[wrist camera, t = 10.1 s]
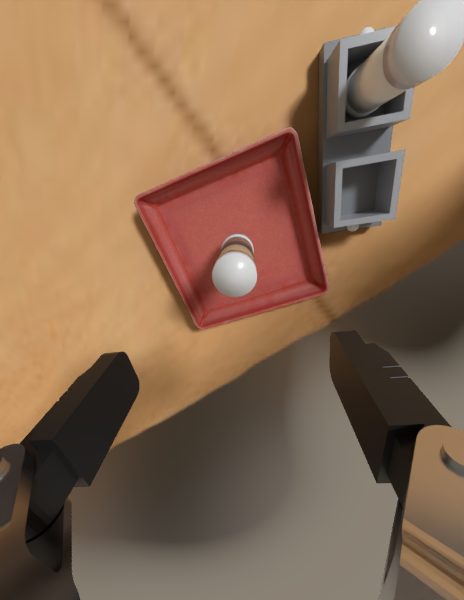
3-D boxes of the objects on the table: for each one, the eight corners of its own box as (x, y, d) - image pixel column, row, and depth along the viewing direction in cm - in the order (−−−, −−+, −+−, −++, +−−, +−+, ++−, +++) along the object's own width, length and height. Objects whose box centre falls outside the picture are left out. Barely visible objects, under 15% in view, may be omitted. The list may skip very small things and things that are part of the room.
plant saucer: (141, 196, 28) (129, 198, 25) (290, 130, 24) (296, 122, 21) (202, 319, 35) (198, 331, 32) (323, 282, 31) (331, 292, 28)
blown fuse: (251, 230, 25) (254, 251, 17) (255, 261, 27) (259, 294, 19) (219, 235, 26) (207, 258, 18) (225, 265, 27) (216, 299, 19)
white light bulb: (383, 63, 20) (477, -21, 12) (378, 114, 21) (458, 72, 13) (340, 73, 20) (401, -1, 12) (338, 123, 22) (392, 86, 14)
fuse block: (394, 32, 20) (432, -7, 16) (374, 224, 27) (396, 230, 23) (319, 50, 21) (336, 17, 17) (318, 232, 28) (330, 240, 24)
